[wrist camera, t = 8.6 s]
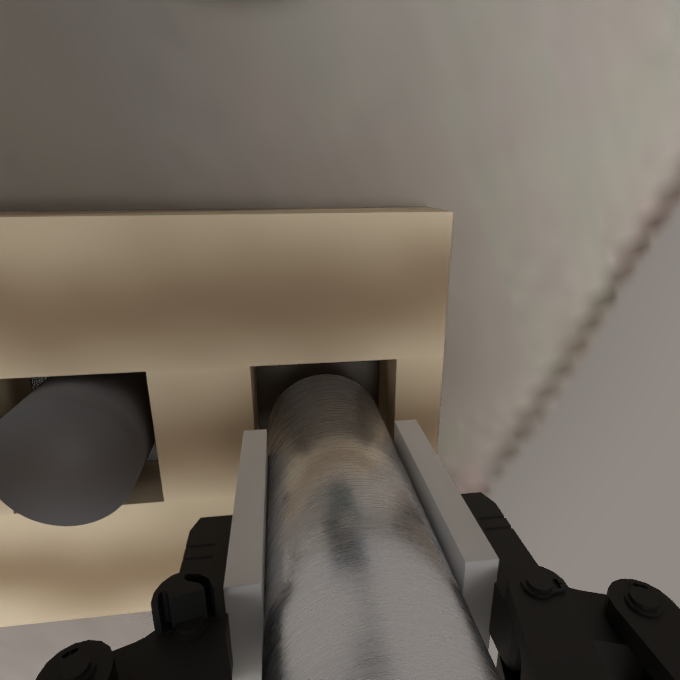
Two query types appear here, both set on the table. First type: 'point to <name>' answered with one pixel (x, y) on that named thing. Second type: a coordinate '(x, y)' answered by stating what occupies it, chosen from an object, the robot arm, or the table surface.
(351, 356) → the jig
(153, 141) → the table surface
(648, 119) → the table surface
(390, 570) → the metal cylinder
